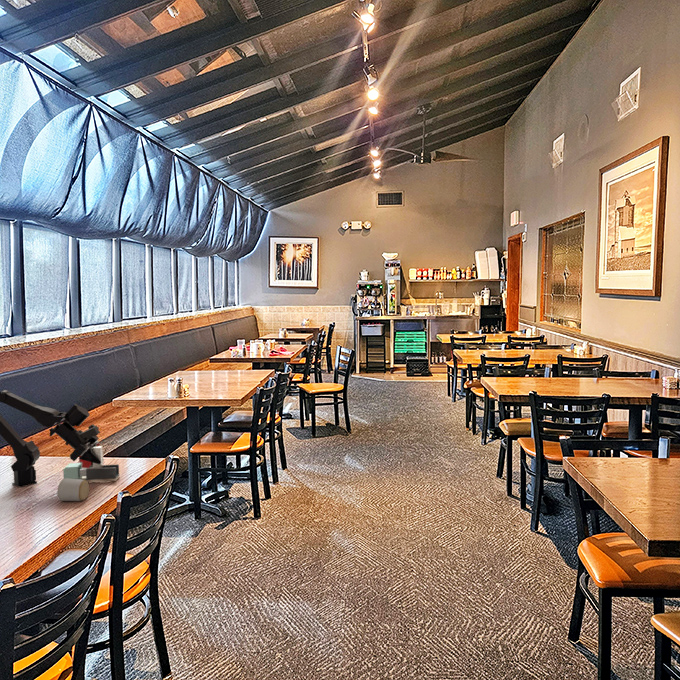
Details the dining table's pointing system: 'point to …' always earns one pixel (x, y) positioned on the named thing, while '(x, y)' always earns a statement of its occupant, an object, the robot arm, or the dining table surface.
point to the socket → (72, 470)
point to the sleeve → (103, 472)
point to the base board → (99, 479)
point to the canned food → (86, 463)
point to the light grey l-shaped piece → (99, 453)
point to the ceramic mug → (72, 489)
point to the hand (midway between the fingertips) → (101, 462)
